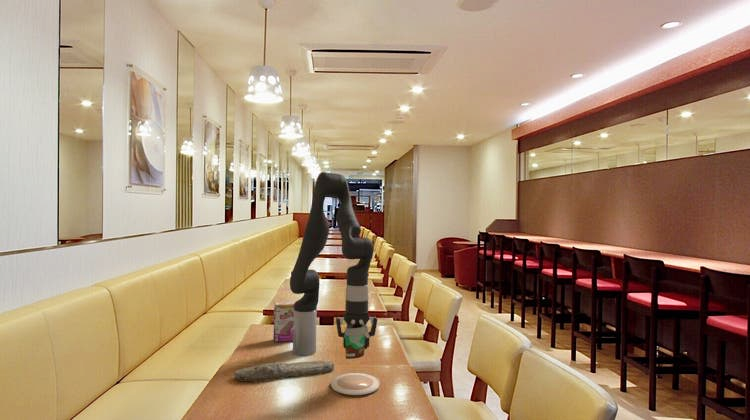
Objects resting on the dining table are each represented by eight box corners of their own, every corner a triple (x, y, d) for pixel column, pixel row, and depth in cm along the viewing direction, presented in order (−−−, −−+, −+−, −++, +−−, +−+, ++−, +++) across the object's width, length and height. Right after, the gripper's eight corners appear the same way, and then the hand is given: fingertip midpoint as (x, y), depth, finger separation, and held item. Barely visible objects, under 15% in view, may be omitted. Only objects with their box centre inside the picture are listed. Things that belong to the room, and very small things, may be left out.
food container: (363, 361, 140) (363, 330, 140) (344, 360, 142) (344, 328, 142) (371, 349, 153) (371, 320, 152) (353, 348, 154) (353, 319, 154)
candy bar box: (273, 343, 191) (274, 305, 191) (273, 339, 196) (273, 302, 196) (299, 341, 194) (300, 304, 194) (298, 338, 199) (299, 301, 199)
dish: (332, 398, 138) (332, 393, 138) (329, 377, 154) (329, 373, 154) (383, 395, 140) (383, 390, 140) (375, 376, 156) (375, 371, 156)
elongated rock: (337, 378, 158) (330, 369, 167) (338, 363, 158) (331, 355, 168) (235, 385, 146) (233, 375, 155) (236, 368, 146) (234, 360, 155)
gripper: (376, 295, 152) (375, 344, 152) (334, 296, 149) (333, 345, 150) (380, 300, 144) (379, 351, 144) (335, 300, 142) (334, 353, 142)
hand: (356, 348), depth 147 cm, fingers closed on food container, 5 cm apart
